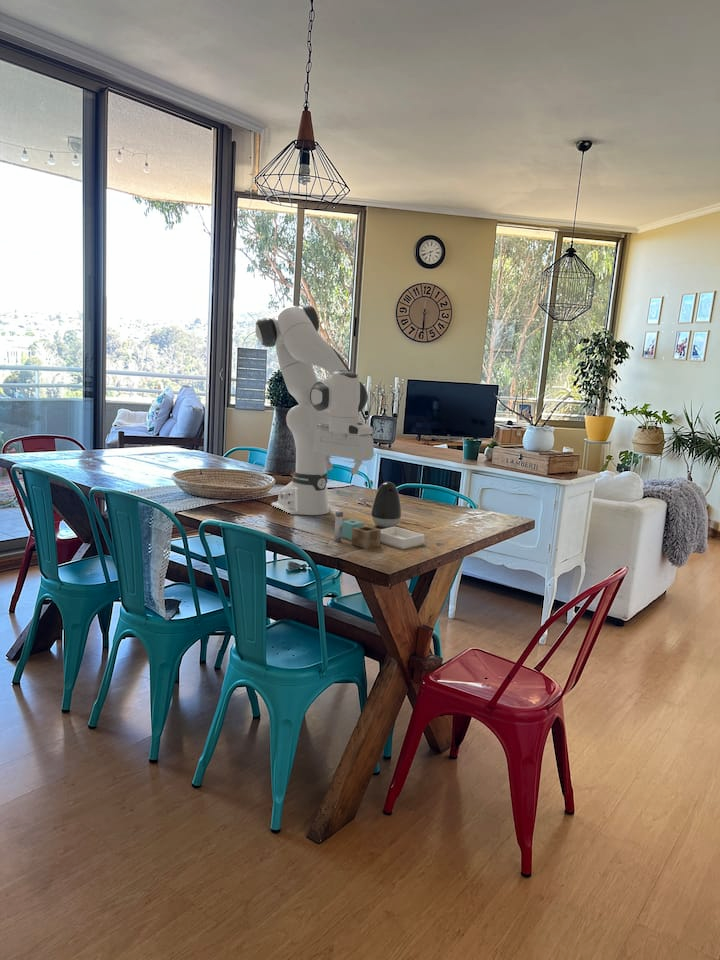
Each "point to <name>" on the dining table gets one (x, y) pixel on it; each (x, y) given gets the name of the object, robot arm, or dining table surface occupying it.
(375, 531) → the walnut block
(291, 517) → the dining table surface
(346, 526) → the teal block
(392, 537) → the tray
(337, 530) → the pin gauge
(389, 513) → the dark grey egg shape
